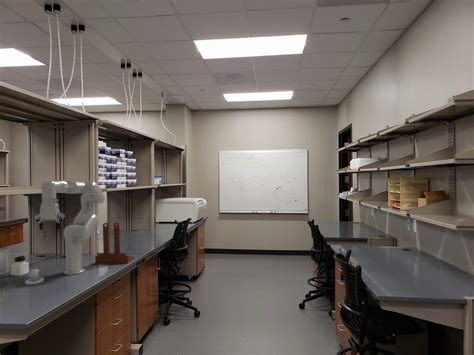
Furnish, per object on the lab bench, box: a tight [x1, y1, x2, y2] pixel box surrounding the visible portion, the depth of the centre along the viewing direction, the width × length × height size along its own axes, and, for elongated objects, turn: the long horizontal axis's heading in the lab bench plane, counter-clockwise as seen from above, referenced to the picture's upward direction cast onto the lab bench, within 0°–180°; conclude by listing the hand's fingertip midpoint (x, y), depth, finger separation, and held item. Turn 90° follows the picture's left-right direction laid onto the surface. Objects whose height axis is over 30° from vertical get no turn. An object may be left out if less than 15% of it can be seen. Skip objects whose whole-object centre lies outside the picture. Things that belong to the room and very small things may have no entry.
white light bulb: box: [27, 268, 40, 281], centre depth 203 cm, size 6×5×6 cm
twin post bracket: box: [94, 222, 135, 265], centre depth 251 cm, size 24×13×30 cm, turn 88°
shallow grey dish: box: [24, 276, 45, 286], centre depth 204 cm, size 10×10×2 cm
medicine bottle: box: [10, 255, 30, 276], centre depth 224 cm, size 7×7×12 cm
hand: (50, 229), depth 203 cm, fingers open, 9 cm apart
